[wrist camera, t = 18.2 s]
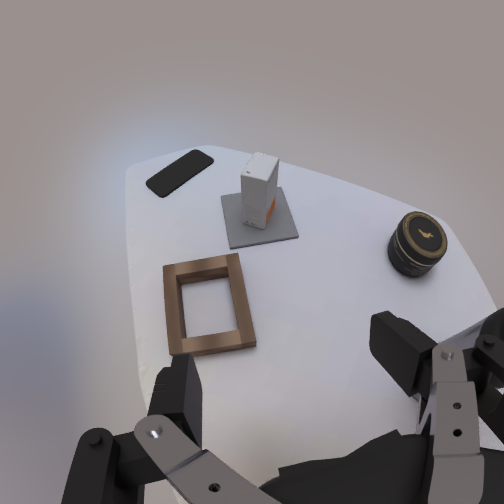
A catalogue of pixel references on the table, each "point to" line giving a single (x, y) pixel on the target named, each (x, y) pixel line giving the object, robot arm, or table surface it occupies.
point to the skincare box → (259, 189)
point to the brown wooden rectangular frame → (175, 314)
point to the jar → (417, 244)
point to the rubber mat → (247, 235)
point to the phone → (178, 172)
